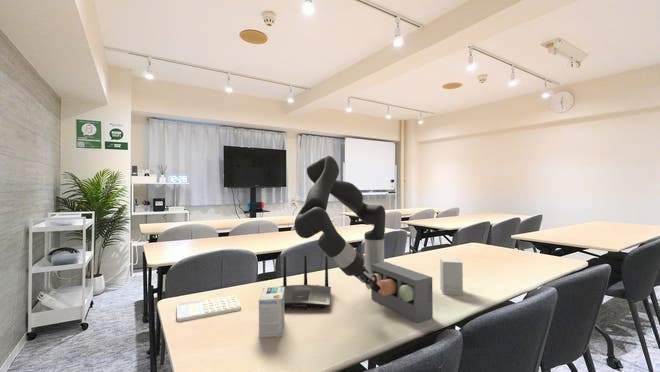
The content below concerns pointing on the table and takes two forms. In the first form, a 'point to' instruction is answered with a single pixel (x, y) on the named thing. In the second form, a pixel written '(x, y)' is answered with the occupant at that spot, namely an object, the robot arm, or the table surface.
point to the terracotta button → (388, 287)
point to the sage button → (407, 292)
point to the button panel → (412, 309)
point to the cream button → (379, 278)
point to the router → (306, 292)
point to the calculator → (207, 308)
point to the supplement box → (451, 276)
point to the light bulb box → (271, 312)
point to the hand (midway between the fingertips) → (377, 289)
